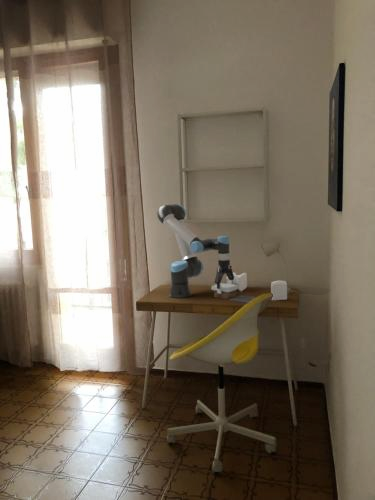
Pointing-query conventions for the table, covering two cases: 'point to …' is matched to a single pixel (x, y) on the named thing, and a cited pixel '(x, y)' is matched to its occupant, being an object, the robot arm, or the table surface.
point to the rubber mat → (242, 299)
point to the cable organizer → (239, 281)
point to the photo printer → (279, 290)
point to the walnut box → (225, 294)
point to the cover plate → (225, 287)
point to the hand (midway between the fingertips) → (224, 291)
